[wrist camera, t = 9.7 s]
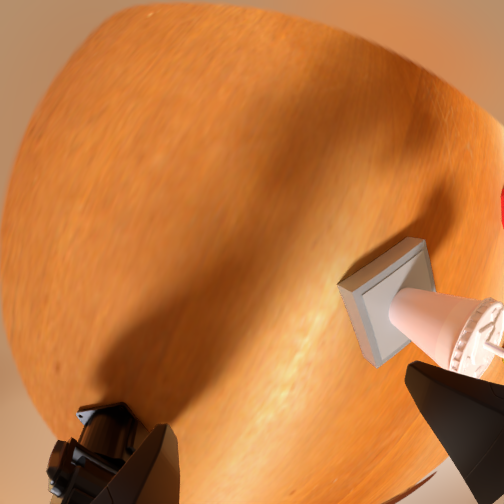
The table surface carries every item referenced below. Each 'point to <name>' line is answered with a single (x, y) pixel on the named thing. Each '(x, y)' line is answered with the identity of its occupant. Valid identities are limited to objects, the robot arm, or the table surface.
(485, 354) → the smoothie
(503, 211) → the french fries
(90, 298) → the table surface
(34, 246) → the table surface
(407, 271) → the base
